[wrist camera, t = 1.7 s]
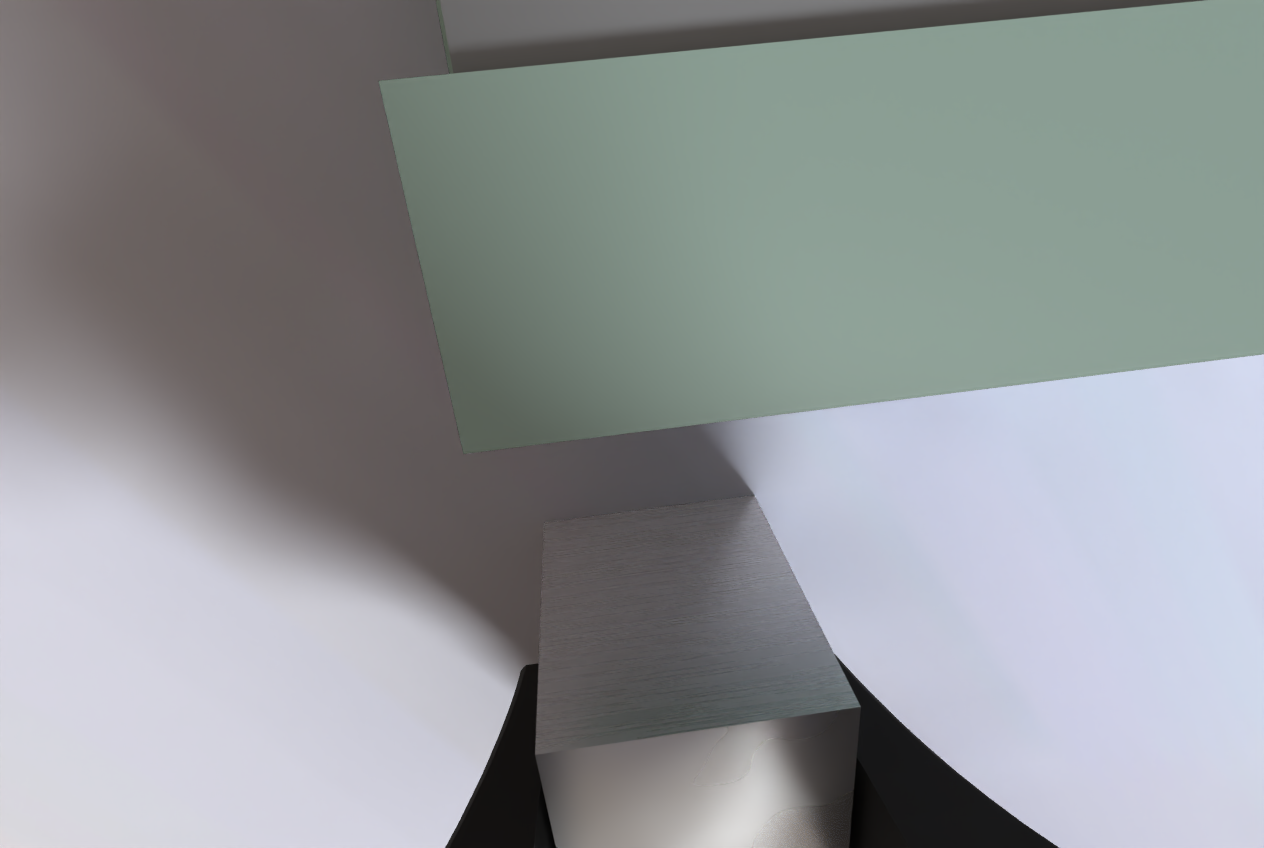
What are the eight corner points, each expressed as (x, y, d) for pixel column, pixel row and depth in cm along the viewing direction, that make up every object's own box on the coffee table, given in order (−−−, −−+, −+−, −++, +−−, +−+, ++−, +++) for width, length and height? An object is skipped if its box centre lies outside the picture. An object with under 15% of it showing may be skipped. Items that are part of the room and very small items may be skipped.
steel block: (754, 494, 13) (861, 706, 8) (756, 717, 15) (839, 971, 11) (543, 521, 12) (535, 754, 8) (583, 742, 15) (592, 1011, 11)
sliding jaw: (1276, -65, 8) (1741, -179, 5) (1188, 254, 10) (1495, 325, 6) (436, 12, 7) (346, -58, 4) (496, 335, 9) (463, 455, 6)
